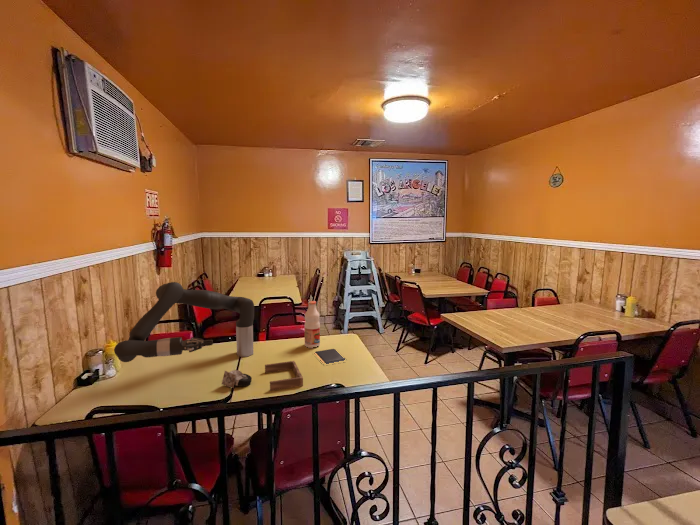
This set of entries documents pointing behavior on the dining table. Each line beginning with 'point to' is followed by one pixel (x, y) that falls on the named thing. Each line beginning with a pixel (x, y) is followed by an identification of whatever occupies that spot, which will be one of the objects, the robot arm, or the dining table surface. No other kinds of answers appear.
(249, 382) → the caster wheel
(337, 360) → the wallet
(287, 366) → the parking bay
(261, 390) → the dining table surface
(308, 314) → the fruit juice
